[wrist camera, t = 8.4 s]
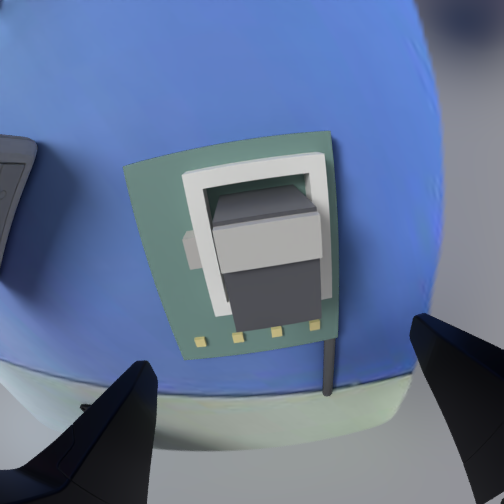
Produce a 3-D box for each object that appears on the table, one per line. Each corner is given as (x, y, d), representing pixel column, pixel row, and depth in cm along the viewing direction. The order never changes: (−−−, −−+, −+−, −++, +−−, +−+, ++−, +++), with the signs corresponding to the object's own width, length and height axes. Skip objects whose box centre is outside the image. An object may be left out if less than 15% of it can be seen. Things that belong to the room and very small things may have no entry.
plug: (300, 270, 19) (323, 324, 14) (236, 281, 19) (236, 338, 14) (292, 184, 17) (319, 209, 11) (219, 195, 17) (211, 226, 11)
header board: (333, 328, 23) (342, 349, 21) (185, 350, 23) (181, 372, 21) (324, 130, 17) (338, 130, 14) (129, 164, 17) (113, 170, 14)
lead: (330, 390, 27) (332, 397, 26) (321, 392, 27) (323, 399, 26) (334, 300, 22) (337, 307, 21) (322, 302, 22) (325, 309, 21)
